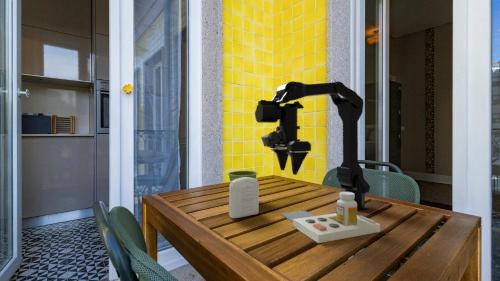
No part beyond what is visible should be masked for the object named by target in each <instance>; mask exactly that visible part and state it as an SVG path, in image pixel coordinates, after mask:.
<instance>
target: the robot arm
mask: <svg viewBox="0 0 500 281" xmlns="http://www.w3.org/2000/svg"><path fill="white" fill-rule="evenodd" d="M325 95H329V96H330V98H331V101H332V103H333V104H334V105H335V107H337V113H338V116H339V117H340V120H341V121H342V163H341V164H340V166H336V178H337V180H338V182H339V184H340V187H341V189H343V190H344V192H352V193H354V194H355V199H354V201H355V202H356V203H357V211H361V210H367V209H368V208H369V206H366V205H365V201H366V200H365V198H366V197H365V195H366V194H367V193H369V192H370V189H371V185H370V184H369V183H368V182H367V180H366V179H365V177H364V171H363V169H362V166H361V164H360V162H359V142H358V141H359V127H358V125H359V123H358V122H359V120H360V118H361V116H362V114H363V112H364V111H363V110H364V100H363V98H362V97H361V96H360V95H359V94H358V93H357V92H356V91H355V90H353V89H351V88H349V87H348V86H346V85H345V84H344V83H343V82H342V81H332V82H323V83H322V82H321V83H304V82H300V81H295V80H293V81H288V82H286V83H282V84H280V85H279V86H278V87H277V89H276V93H275V95H274V96H273V98H272V99H271V100H266V99H260V100H258V101H257V105H256V108H255V112H254V116H255V121H256V123H258V124H259V123H262V124H263V123H264V124H266V123H267V124H268V123H269V124H272V123H273V124H275V123H277V122H278V126H276V127H275V130H273V131H272V132H269V133H268V134H265V135H263V136H261V141H262V144H263V146H264V147H266V148H269V149H270V150H271V151H272V152H273V153H275V155H276V157H277V161H278V163H279V164H278V165H279V168H280V170H281V171H285V168H286V166H287V162H288V158H289V157H290V162H291V171H292V175H293V176H297V174H298V173H299V171H300V169H301V167H302V164H303V163H304V160H305V159H306V157H307V156H308V154H309V153H310V152H312V144H311V142H310V141H308V140H307V141H306V140H301V139H299V138H298V130H300V129H301V126H300V125H298V110H301V109H304V105H303V104H302V103H300V101H299V100H300V99H302V98H306V97H313V96H325ZM293 101H294V102H293ZM291 102H293V103H291ZM282 104H284V105H282Z"/></svg>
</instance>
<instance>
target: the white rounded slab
mask: <svg viewBox="0 0 500 281" xmlns="http://www.w3.org/2000/svg"><path fill="white" fill-rule="evenodd" d="M259 184H260V183H259V180H258V179H257V178H256V179H254V178H250V177H242V178H238V179H235V180H233V181H230V182H229V185H228V192H229V194H228V216H229V218H231V219H238V218H244V217H248V216H253V215H258V214H259V211H260V210H259V209H260V208H259V207H260V205H259V203H260V202H259V198H260V197H259V196H260V195H259V193H260V192H259V190H260V186H259Z"/></svg>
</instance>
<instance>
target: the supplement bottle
mask: <svg viewBox="0 0 500 281" xmlns="http://www.w3.org/2000/svg"><path fill="white" fill-rule="evenodd" d="M338 196H339V199H338V200H337V201H336V213H337V222H338V223H340V224H342V225H344V226H351V225H357V215H358V210H357V203H356V202H355V201H354V199H355V194H354V193H352V192H345V191H341V192H339V195H338Z"/></svg>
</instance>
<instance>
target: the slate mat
mask: <svg viewBox="0 0 500 281" xmlns="http://www.w3.org/2000/svg"><path fill="white" fill-rule="evenodd" d="M280 214H281V216H282V215H283V216H282V217H284V218H285V217H286V218H285V219H287V220H288V219H289V221H290V222H292V223H293V219H297V218H305V217H312V216H315V215H314V214H312V213H310V212H308V211H307V210H299V211H291V212H285V213H284V212H283V213H282V212H281V213H280Z"/></svg>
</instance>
